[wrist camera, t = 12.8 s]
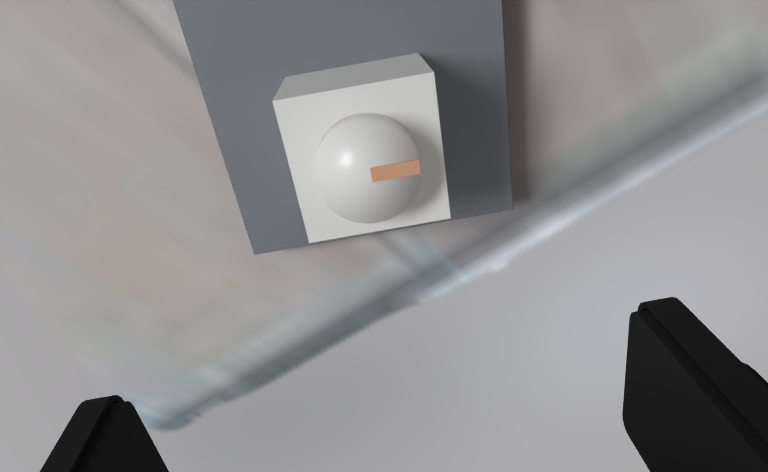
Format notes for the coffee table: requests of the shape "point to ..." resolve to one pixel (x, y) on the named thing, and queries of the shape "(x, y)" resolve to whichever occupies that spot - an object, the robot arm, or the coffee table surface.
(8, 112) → the coffee table surface
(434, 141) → the knob
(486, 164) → the flat gray board
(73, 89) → the coffee table surface
